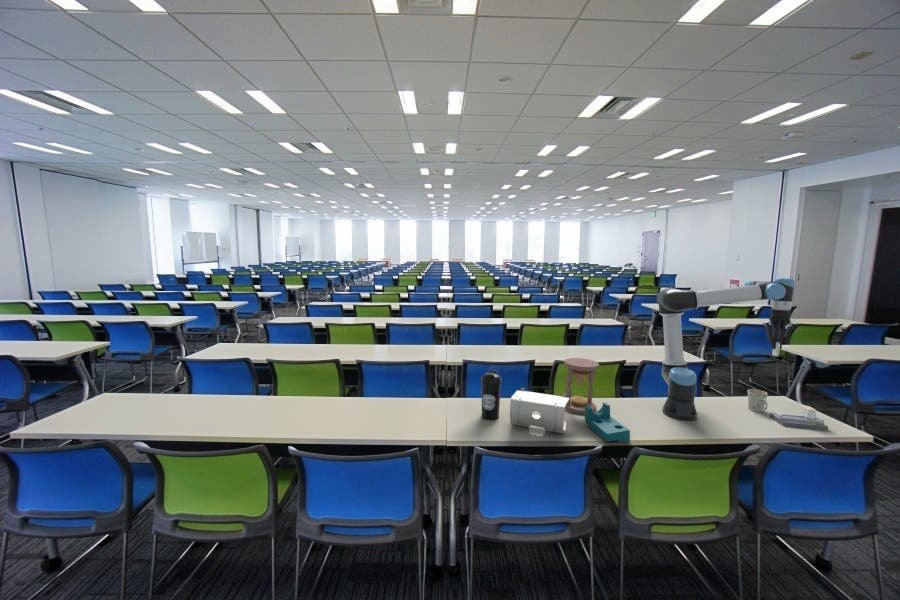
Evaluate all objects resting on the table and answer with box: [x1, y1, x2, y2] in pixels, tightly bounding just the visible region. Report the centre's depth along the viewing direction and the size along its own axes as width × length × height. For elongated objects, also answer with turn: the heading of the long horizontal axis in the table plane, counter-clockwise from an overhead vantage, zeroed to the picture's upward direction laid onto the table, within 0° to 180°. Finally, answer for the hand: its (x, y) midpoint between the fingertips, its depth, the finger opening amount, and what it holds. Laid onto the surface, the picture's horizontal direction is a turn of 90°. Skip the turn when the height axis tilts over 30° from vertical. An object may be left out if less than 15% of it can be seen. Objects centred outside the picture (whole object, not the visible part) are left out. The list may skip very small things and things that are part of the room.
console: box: [769, 411, 829, 431], centre depth 184 cm, size 18×11×4 cm, turn 76°
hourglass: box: [563, 357, 600, 415], centre depth 198 cm, size 18×18×25 cm
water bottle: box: [480, 369, 503, 421], centre depth 185 cm, size 10×10×23 cm
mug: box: [747, 388, 769, 413], centre depth 198 cm, size 8×13×10 cm, turn 174°
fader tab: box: [800, 404, 817, 419], centre depth 183 cm, size 3×5×6 cm, turn 166°
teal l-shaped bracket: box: [584, 401, 631, 444], centre depth 170 cm, size 18×11×10 cm, turn 10°
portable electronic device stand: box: [509, 387, 570, 437], centre depth 176 cm, size 26×24×16 cm
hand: (775, 355), depth 188 cm, fingers closed
